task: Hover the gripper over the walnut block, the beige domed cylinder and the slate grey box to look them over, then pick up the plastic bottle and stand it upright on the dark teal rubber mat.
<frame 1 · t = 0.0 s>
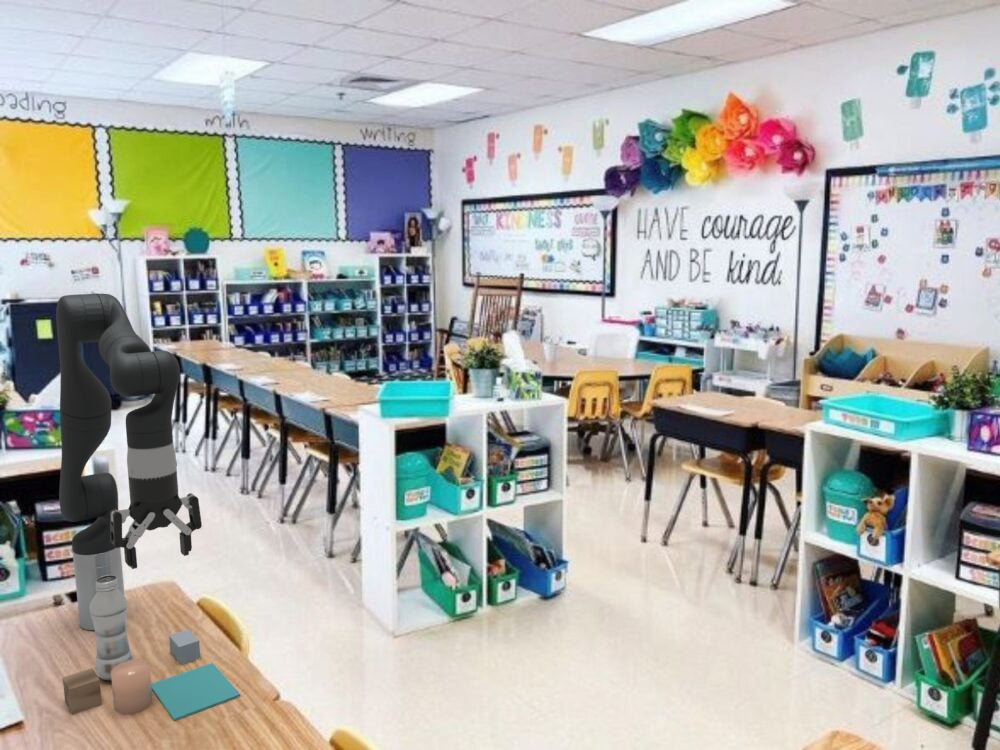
hand: (159, 560, 138), 29 cm above the table, tool pointing down, fingers open, 8 cm apart
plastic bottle: (115, 676, 156), on the table
walnut block: (83, 703, 147), on the table
beige domed cylinder: (133, 703, 146), on the table
slate grey box: (185, 656, 163), on the table
teal mat: (194, 691, 151), on the table
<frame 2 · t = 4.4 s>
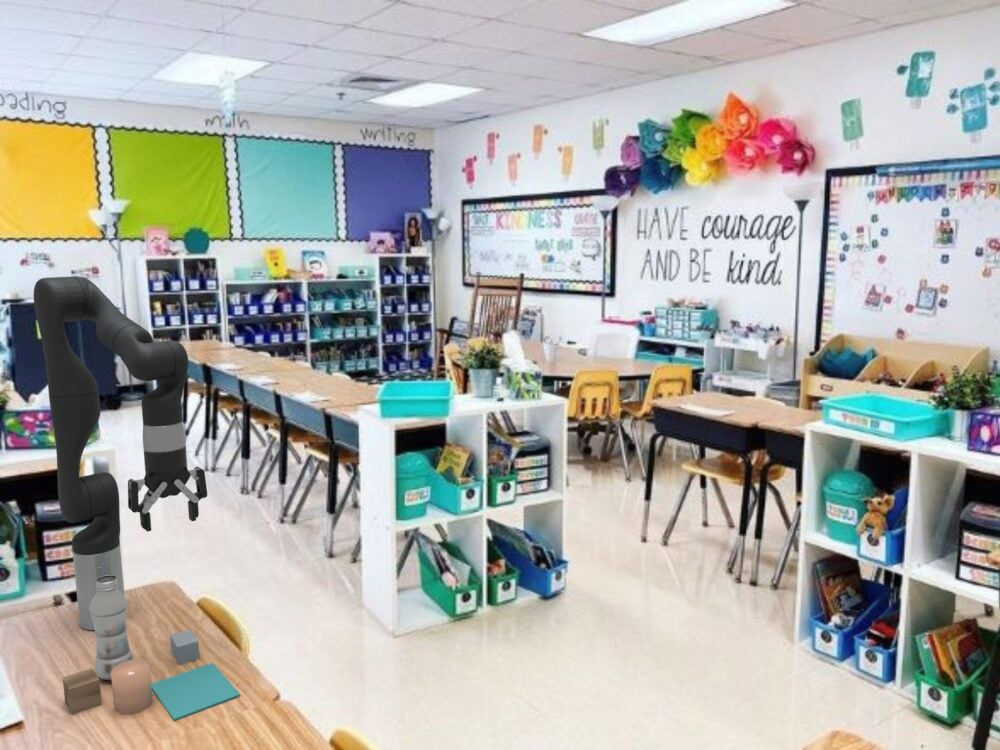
hand: (170, 525, 157), 28 cm above the table, tool pointing down, fingers open, 8 cm apart
nothing on the table moved.
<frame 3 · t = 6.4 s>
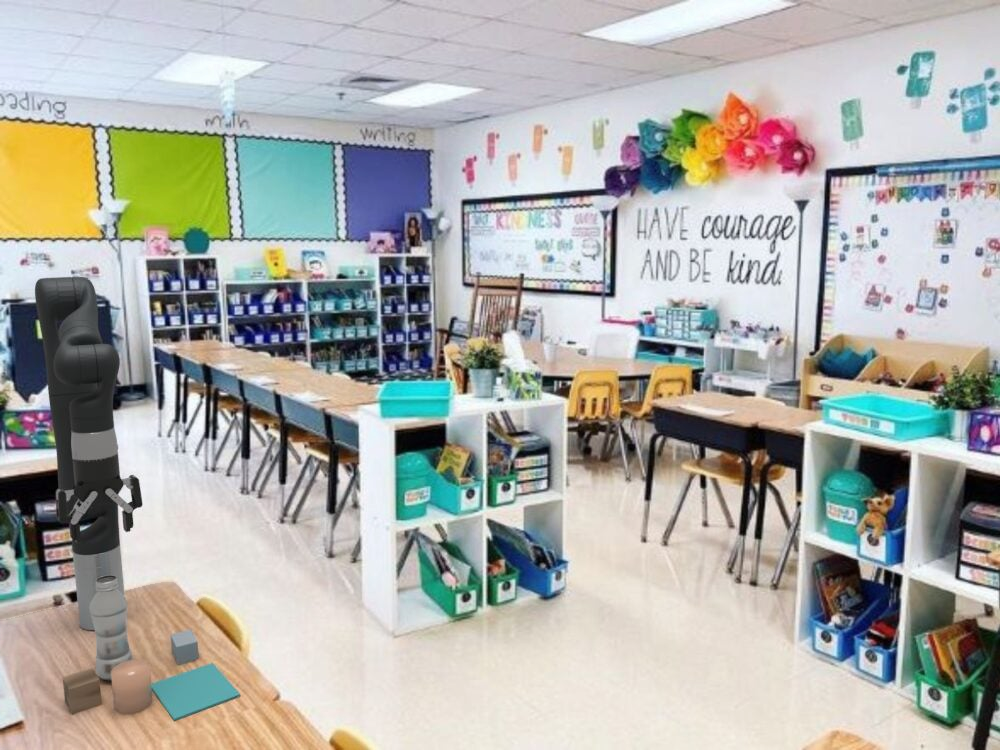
hand: (102, 536, 150), 29 cm above the table, tool pointing down, fingers open, 8 cm apart
nothing on the table moved.
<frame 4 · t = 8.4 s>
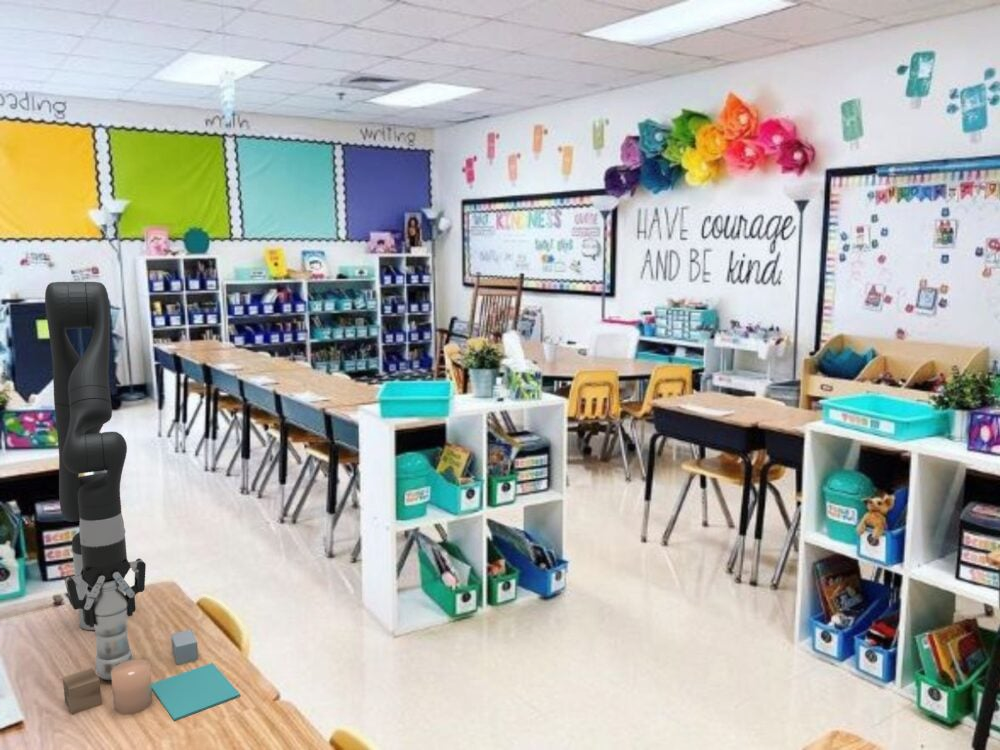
hand: (110, 619, 153), 12 cm above the table, tool pointing down, fingers closed on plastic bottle, 6 cm apart
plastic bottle: (115, 676, 156), on the table, touching gripper
everything else where it was.
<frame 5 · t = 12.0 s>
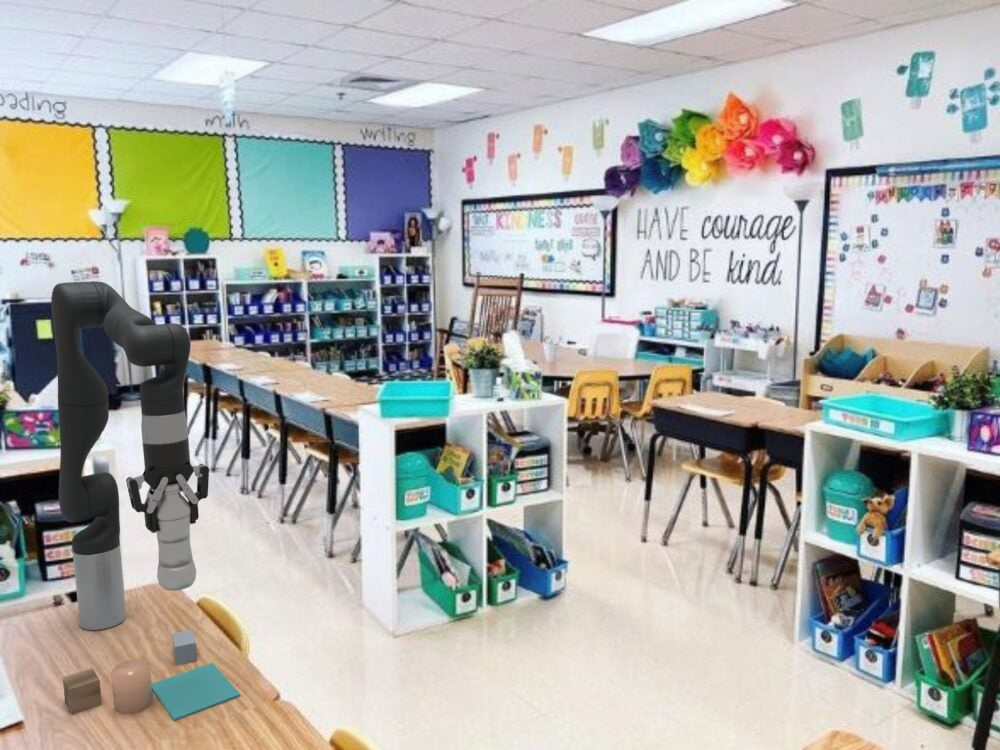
hand: (172, 526, 145), 32 cm above the table, tool pointing down, fingers closed on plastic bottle, 6 cm apart
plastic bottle: (177, 588, 147), point 21 cm above the table, touching gripper
everything else where it was.
when the fingers open (13 cm above the table, at t = 15.5 s): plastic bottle drops 1 cm, resting on teal mat.
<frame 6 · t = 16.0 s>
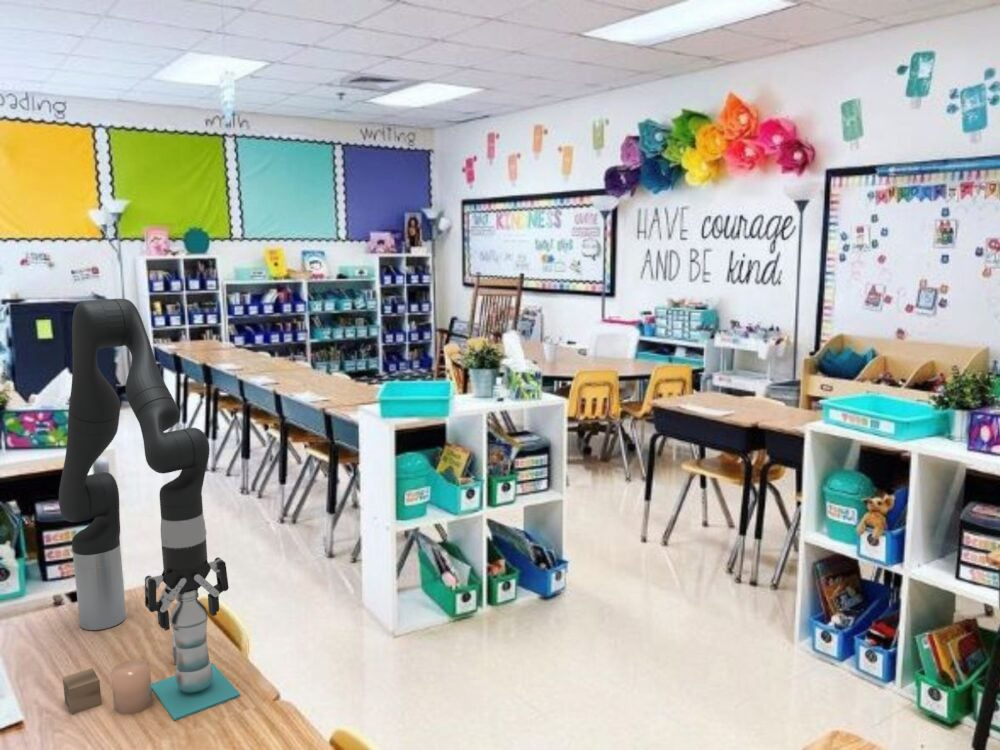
hand: (189, 621, 148), 14 cm above the table, tool pointing down, fingers open, 8 cm apart
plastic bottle: (195, 689, 151), resting on teal mat
everything else where it was.
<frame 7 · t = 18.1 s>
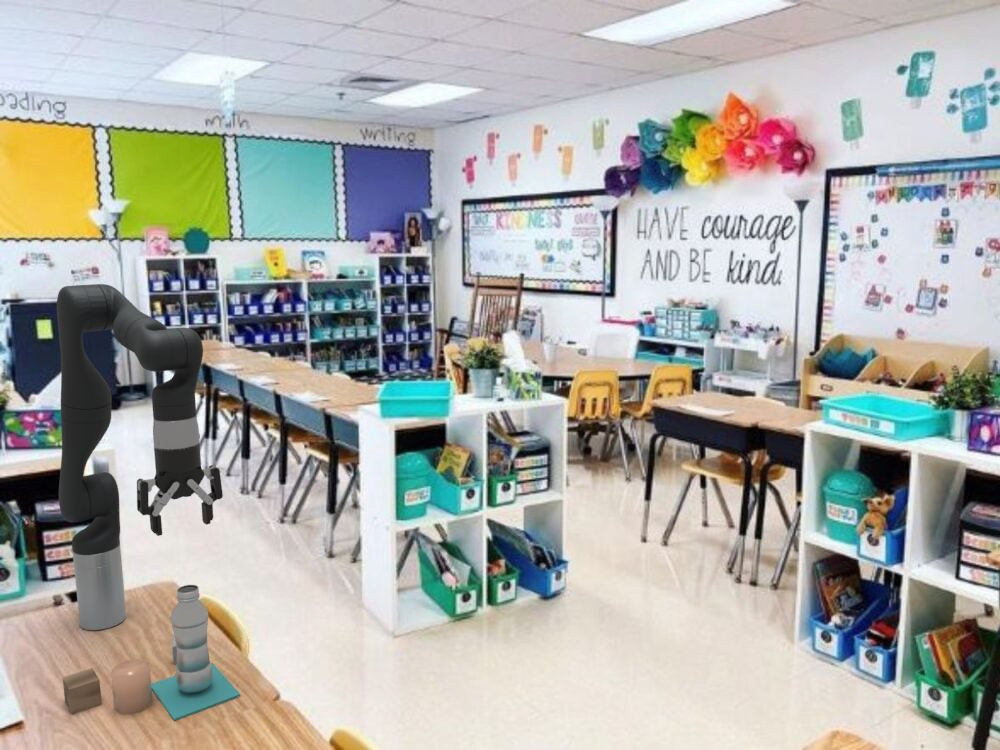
hand: (182, 528, 145), 32 cm above the table, tool pointing down, fingers open, 8 cm apart
nothing on the table moved.
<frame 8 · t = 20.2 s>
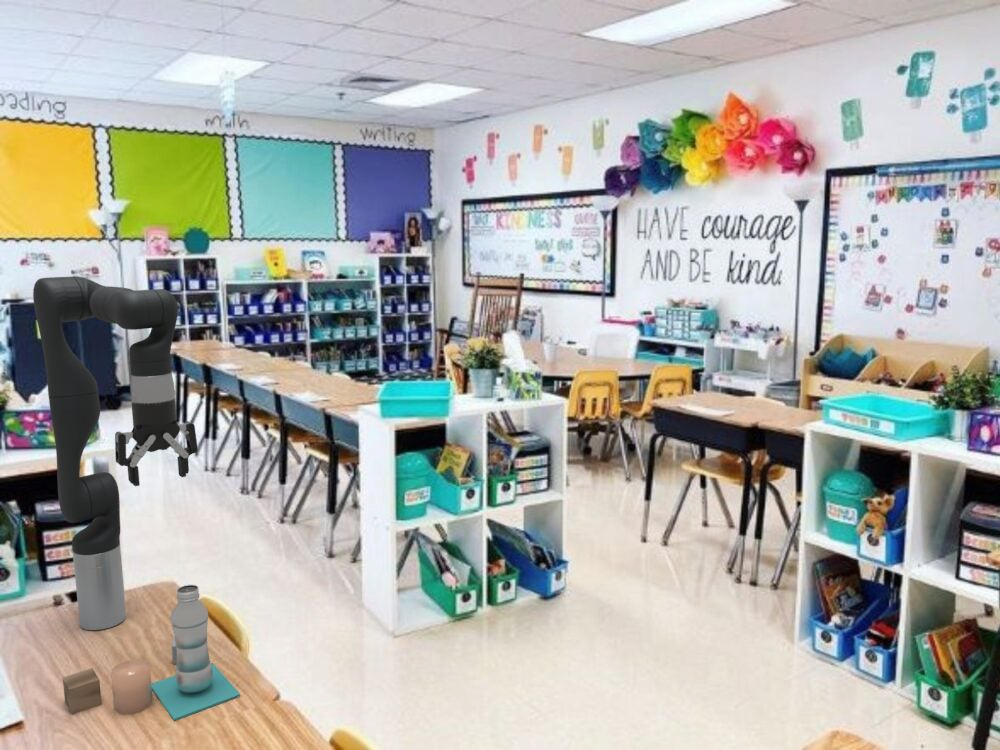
hand: (159, 480, 153), 38 cm above the table, tool pointing down, fingers open, 8 cm apart
nothing on the table moved.
at the end: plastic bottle 0.3 cm from the teal mat (horizontally); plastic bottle tilted 0°; the gripper is holding nothing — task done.
